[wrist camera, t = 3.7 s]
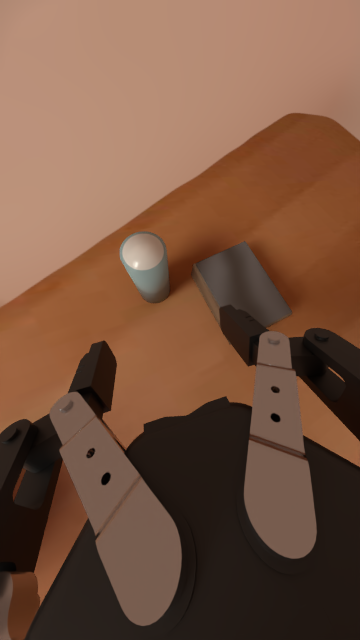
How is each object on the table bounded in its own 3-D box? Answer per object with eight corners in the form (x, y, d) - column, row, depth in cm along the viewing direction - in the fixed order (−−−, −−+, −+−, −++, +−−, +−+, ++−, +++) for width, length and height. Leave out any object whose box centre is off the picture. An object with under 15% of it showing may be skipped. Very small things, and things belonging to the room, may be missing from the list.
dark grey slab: (236, 254, 29) (245, 238, 25) (278, 319, 27) (295, 312, 23) (191, 275, 28) (193, 262, 24) (230, 344, 26) (239, 342, 22)
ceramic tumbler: (162, 270, 28) (154, 224, 19) (175, 295, 28) (174, 261, 18) (134, 282, 28) (112, 241, 18) (147, 308, 27) (130, 280, 17)
